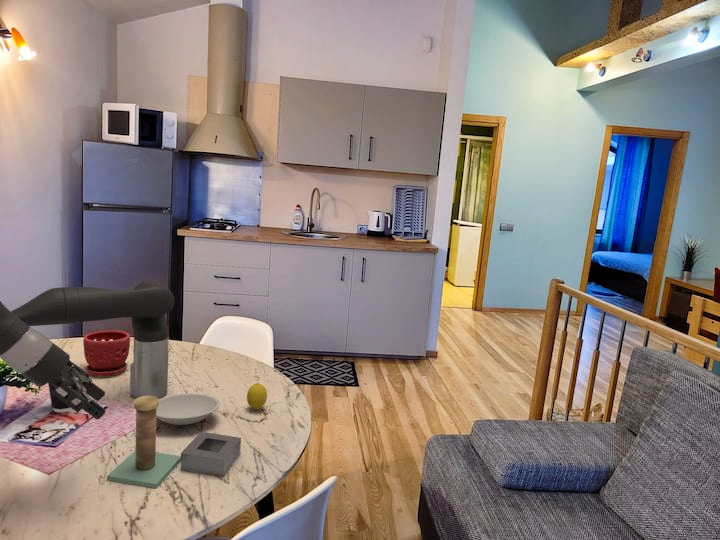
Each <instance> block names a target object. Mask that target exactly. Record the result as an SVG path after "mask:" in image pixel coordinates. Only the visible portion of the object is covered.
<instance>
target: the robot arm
mask: <svg viewBox="0 0 720 540" xmlns="http://www.w3.org/2000/svg"><path fill="white" fill-rule="evenodd" d="M174 306H175V296H174V295H173V293H172V291H171V290H170V289H169V287H166V286H164V285H163V284H161V283H160V282H157V281H155V280H143V281H141V282H140V283H138V284H137V285H136V286H135V287H134V288H133V289H128V290H116V289H115V290H114V289H108V288H107V289H106V288H102V287H101V288H100V287H99V288H98V287H91V286H90V287H89V286H67V287H66V286H65V287H63V286H62V287H52V288H49V289H47V290H45V291H44V292H41V293H39V294H38V295H37V296H35V297H33V298H32V299H31V300H29V301H27V302H25V303H24V304H22V305H21V306H18V307H16V308H15V309H12V310H11V311H10V309H8V307H6V305H5V304H4V303H3V302H2V301H1V300H0V359H1V360H2V361H3V362H4V363H5V364H6V365H7V366H9V368H11V369H13V370H14V371H15V372H17V373H18V374H20V375H21V376H22V377H24V378H25V379H26V380H28V381H30V382H31V383H32V384H33V385H35V386H36V387H44V386H45V385H47V384H48V383H52V385H54V386H55V389H56V390H55V391H54V392H53V395H54V396H56V397H57V398H58V399H60V400H61V401H63V402H64V403H65V404H67V405H68V406H69V407H71V408H72V410H73V411H75V412H76V413H80V412H81V411H82V410H83V411H84V412H85V413H87V414H88V415H90V416H91V417H93V418H94V419H96V420H100V419H101V418H102V417H103V416H104V415H106V414H107V413H106V411H107V409H106V408H105V407H103V406H102V405H100V404H99V403H97V402H96V401H98V402H99V401H100V400H101V399H102V398H104V397H105V396H106V391H105V390H103V389H102V388H101V387H100V386H98V385H96V384H95V383H94V382H93V380H92V378H90V377H91V374H90V373H88V372H87V371H85V370H84V369H82V368H81V366H79V365H78V364H75V363H74V362H73V361H71V356H70V354H68V353H67V352H66V351H65V350H63V349H62V348H61V347H60V346H58V345H56V343H54V342H53V341H52V340H50V338H47V337H46V336H45V335H43V334H42V333H41V332H39V331H37V330H36V329H34V328H32V327H38V326H40V327H42V326H54V325H67V324H80V323H85V322H98V321H105V320H112V319H113V320H114V319H121V318H131V327H132V331H133V362H131V364H130V367H129V368H130V370H129V373H130V374H129V376H130V377H129V378H130V379H129V383H130V384H129V395H130V396H131V397H133V398H135V399H137V398H139V397H142V396H155V397H157V398H158V399H161V398H164V397H166V396H167V395H168V387H169V386H168V385H169V384H168V383H169V382H168V381H169V379H168V378H169V346H170V345H169V339H170V335H169V334H170V330H169V325H168V324H167V321H166V317H165V315H167V314H168V313H169V312H171V310H172V309H173V308H174ZM77 365H78V366H79V367H78V366H77ZM93 399H94V400H93ZM72 402H73V403H72Z"/></svg>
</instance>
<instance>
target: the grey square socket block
mask: <svg viewBox="0 0 720 540" xmlns="http://www.w3.org/2000/svg"><path fill="white" fill-rule="evenodd" d="M241 444H242V437H239V436H233V435H227V434H220V433H218V434H217V433H213V432H212V433H211V432H207V431H200V432H199V433H198V434H197V435H196V436H195V438H194V439H193V440H192V441H191V442H189V444H188V445H187V446H186V447H185V448H184V449H183V450H182V451H181V452H180V456H181V462H180V470H181V471H185V472H187V471H188V472H192V473H198V474H204V475H211V476H216V477H217V476H218V477H225V475H226V474H227V473H228V471H229V470H230V468H231V467H232V466H233V464H234V463H235V461H236V460H237V459H238V457H239V456H240V454H241V450H242V449H241V447H242V446H241Z"/></svg>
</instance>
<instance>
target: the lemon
mask: <svg viewBox="0 0 720 540" xmlns="http://www.w3.org/2000/svg"><path fill="white" fill-rule="evenodd" d="M267 392H268V391H267V388H266V387H265V386H264V385H263V384H261V383H259V382H256V383H254V384H252V385H251V386H250V387H249V388H248V390H247V394H246V401H247V403H248V405H249V407H250V408H253V409H254V410H258V409H261V408H262V407H263V406H265V404H266V402H267V399H268V394H267Z"/></svg>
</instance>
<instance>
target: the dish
mask: <svg viewBox="0 0 720 540" xmlns="http://www.w3.org/2000/svg"><path fill="white" fill-rule="evenodd" d="M220 405H221V401H220V400H219V399H218V398H217V397H215V396H213V395H209V394H204V393H178V394H173V395H168V396H167V395H166V396H164V397H162V398H159V403H158V407H157V408H156V418H158V419H159V420H160V421H162V422H163V423H167V424H170V425H177V426H179V425H180V426H181V425H191V424H194V423H198V422H200V421H203V420H204V419H206V418H208V417H209V416H211V414H212V413H214V412H215V411H217V410H218V409H219V407H220Z"/></svg>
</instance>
